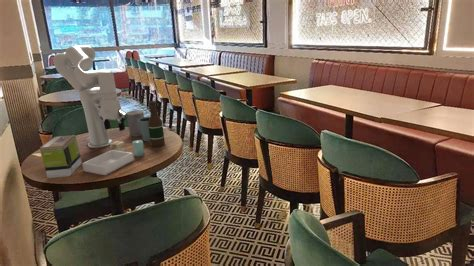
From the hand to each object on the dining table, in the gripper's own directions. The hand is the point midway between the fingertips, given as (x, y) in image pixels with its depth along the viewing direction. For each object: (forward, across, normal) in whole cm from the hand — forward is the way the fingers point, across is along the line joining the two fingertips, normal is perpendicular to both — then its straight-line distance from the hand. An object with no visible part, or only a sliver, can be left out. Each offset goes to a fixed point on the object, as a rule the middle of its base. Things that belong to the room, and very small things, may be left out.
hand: (115, 129), depth 168 cm
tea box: (+12, -7, -27) cm, 30 cm away
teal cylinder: (+12, +13, 0) cm, 18 cm away
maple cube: (+12, -1, 0) cm, 12 cm away
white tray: (+12, +9, -16) cm, 22 cm away
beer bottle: (+12, +13, +15) cm, 24 cm away
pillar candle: (+12, -12, +28) cm, 33 cm away
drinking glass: (+12, +2, +22) cm, 25 cm away
